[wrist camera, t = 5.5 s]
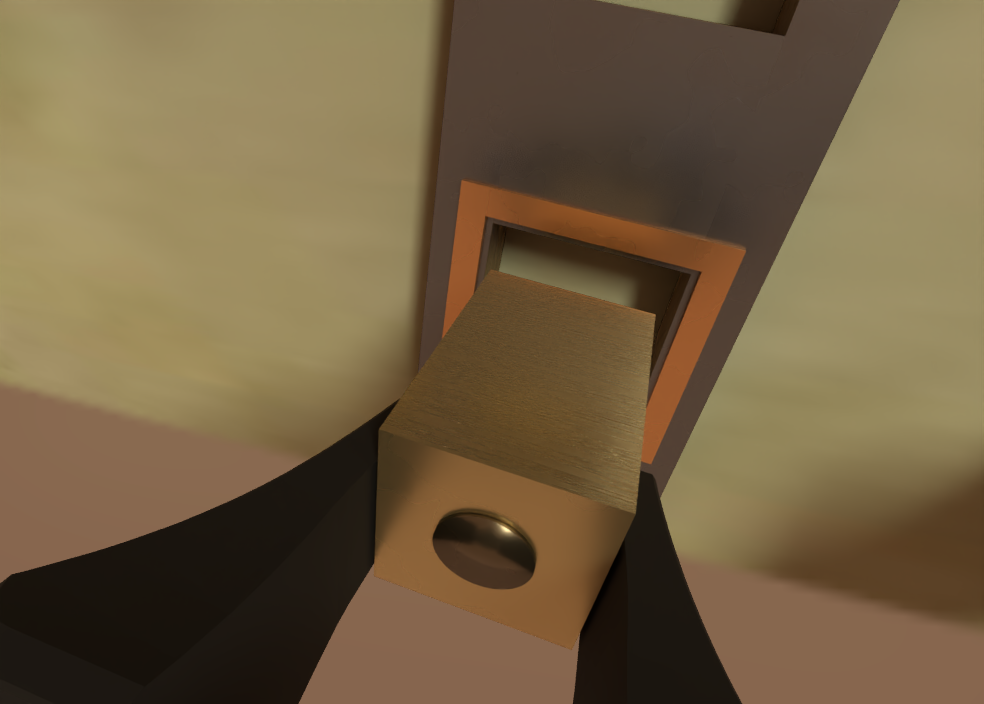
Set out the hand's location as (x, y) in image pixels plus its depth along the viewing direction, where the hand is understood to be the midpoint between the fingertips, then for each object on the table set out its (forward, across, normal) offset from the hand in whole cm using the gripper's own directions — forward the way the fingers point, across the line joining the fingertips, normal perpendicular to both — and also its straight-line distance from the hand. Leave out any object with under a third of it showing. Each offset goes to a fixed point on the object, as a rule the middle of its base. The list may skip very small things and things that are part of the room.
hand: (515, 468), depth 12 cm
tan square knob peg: (+4, 0, -1) cm, 4 cm away
